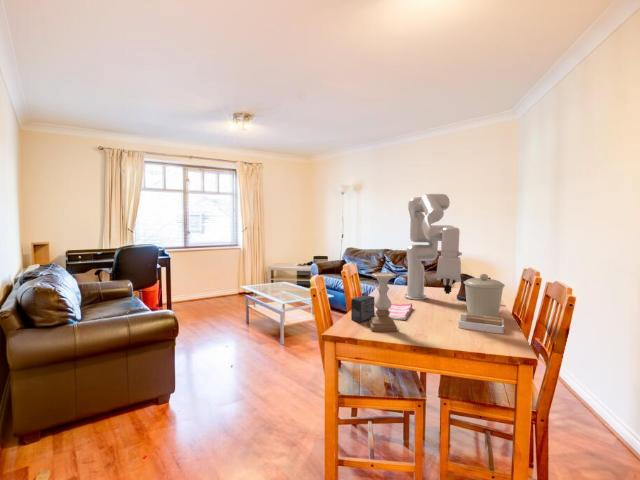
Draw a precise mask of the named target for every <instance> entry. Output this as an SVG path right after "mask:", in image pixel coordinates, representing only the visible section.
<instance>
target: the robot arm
mask: <svg viewBox="0 0 640 480" xmlns="http://www.w3.org/2000/svg"><path fill="white" fill-rule="evenodd" d="M450 204H451V203H450V198H449V196H448V195H447V194H444V193H426V194H424V195H422V196H417V197H411V198H410V199H409V201H408V204H407V208H408V213H409V218H410V222H409V223H410V225H409V228H410V229H409V238H410V241H411V242H413V243H428V244H411V245H410V244H409V246H408V247H407V248H406V257H407V258H406V259H407V288H406V289H407V291H406V292H407V293H406V294H404V297H405V298H406V299H409V300H412V301H413V300H414V301H415V300H416V301H419V300H420V301H423V300H426V299H427V298H428V297H427V295H426V294H425V267H424V265H423V264H422V263H421V262H424V261H425V262H428V261H429V262H431V261H436V259H437V257H438V259H437V260H438V261H437V267H436V276H435V277H436V278H435V279H436V280H438V281H439V282H441V283H442V284H443V285H444V286H443V287H444V288H443V291H444V293H445V294H446V295H450V293H451V292H452V288H453V287H452V285H454V284H456V283H461V278H460V276H461V273H462V264H461V262H462V261H461V256H462V255H463V253H462V252H461V251H459V249H460V228H459V227H455V226H454V225H445V224H444V225H443V224H442V225H441V224H440V225H439V224H438V225H434V224H435V223H437V222H439V221H441V220H442V219H443V217H444V214H445V212H444V211H446V210H447V209H448V208H449V207H450ZM424 214H425V215H424ZM439 242H440V243H441V245H440V246H441V247H440V255H439V256H438V249H439V247H438V246H439ZM459 256H460V257H459ZM448 280H449V283H448Z"/></svg>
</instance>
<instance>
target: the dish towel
mask: <svg viewBox="0 0 640 480" xmlns="http://www.w3.org/2000/svg"><path fill="white" fill-rule="evenodd" d="M376 310H377V308H376V307H375V308H374V315H375V316H377V314H376ZM388 310H389V311H390V314H389V315H388V316H389V317H391V318H392V319H393V320H394V321H406V319H407V318H408V316H409V314H410V313H411V312H412V311H413V303H412V302H411V303H401V304H399V303H392V302H391V307H390V308H389V309H388Z"/></svg>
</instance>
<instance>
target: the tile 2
mask: <svg viewBox="0 0 640 480" xmlns="http://www.w3.org/2000/svg"><path fill="white" fill-rule="evenodd" d="M502 319H503V318H502V317H499V316H497V317H492V316H484V324H489V325H496V326H502Z"/></svg>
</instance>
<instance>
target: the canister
mask: <svg viewBox="0 0 640 480" xmlns="http://www.w3.org/2000/svg"><path fill="white" fill-rule="evenodd" d="M488 278H489V275H488V274H486V273H481V274H480V275H479V277H475V278H471V279H468V280H466V281H464V284H465V291H466V303H465V304H466V310H467V313H468V314H477V315H484V316H492V317H499V312H500V308H501V302H502V295H503V291H504V288H505V286H506V285H505V283H503V282H502V281H499V280H496V279H492V278H491V279H488Z"/></svg>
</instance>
